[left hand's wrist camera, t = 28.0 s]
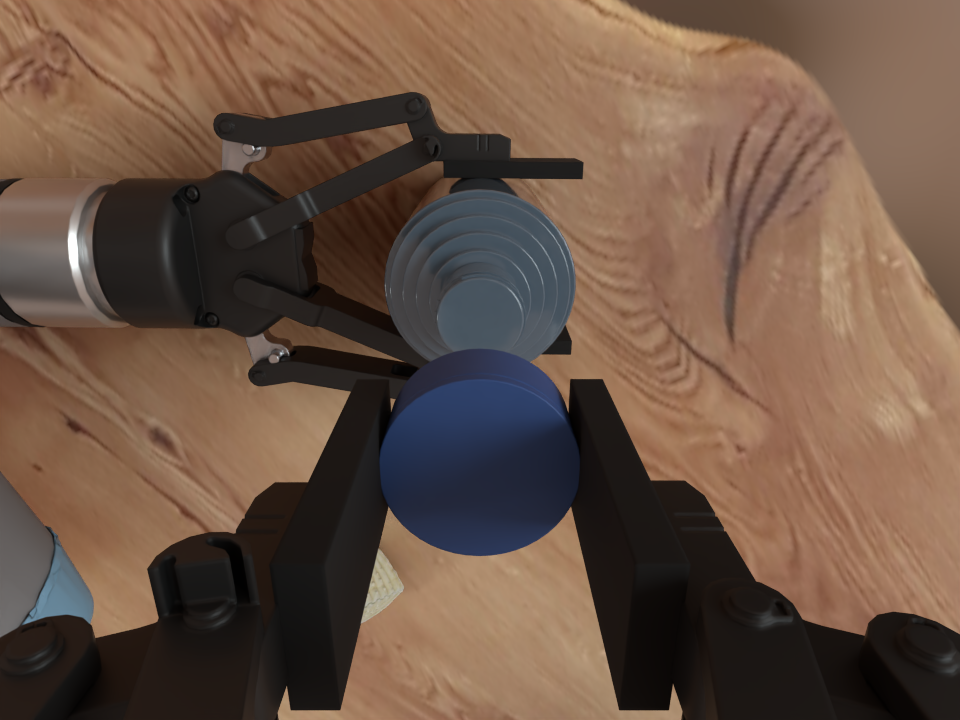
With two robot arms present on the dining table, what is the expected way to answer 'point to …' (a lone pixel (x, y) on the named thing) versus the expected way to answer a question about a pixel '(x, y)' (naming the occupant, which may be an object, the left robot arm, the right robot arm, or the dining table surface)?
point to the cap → (479, 453)
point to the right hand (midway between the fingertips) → (572, 257)
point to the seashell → (381, 587)
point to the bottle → (480, 271)
